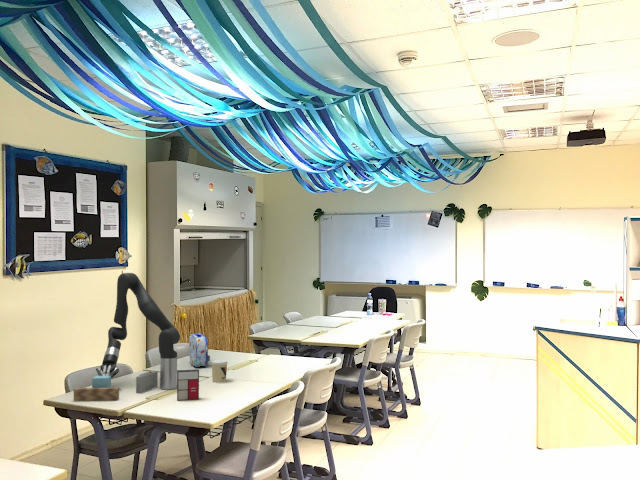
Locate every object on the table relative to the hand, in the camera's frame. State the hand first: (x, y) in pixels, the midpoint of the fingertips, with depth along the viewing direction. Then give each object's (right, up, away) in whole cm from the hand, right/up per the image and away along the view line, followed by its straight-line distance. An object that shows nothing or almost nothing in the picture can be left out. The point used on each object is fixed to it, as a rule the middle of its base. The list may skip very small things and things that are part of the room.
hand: (103, 384), depth 295 cm
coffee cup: (+57, -7, +31) cm, 65 cm away
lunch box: (+34, -8, +77) cm, 85 cm away
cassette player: (+20, -6, +10) cm, 23 cm away
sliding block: (0, -4, -4) cm, 6 cm away
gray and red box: (+48, -6, -9) cm, 49 cm away
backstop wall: (0, -5, -3) cm, 6 cm away
